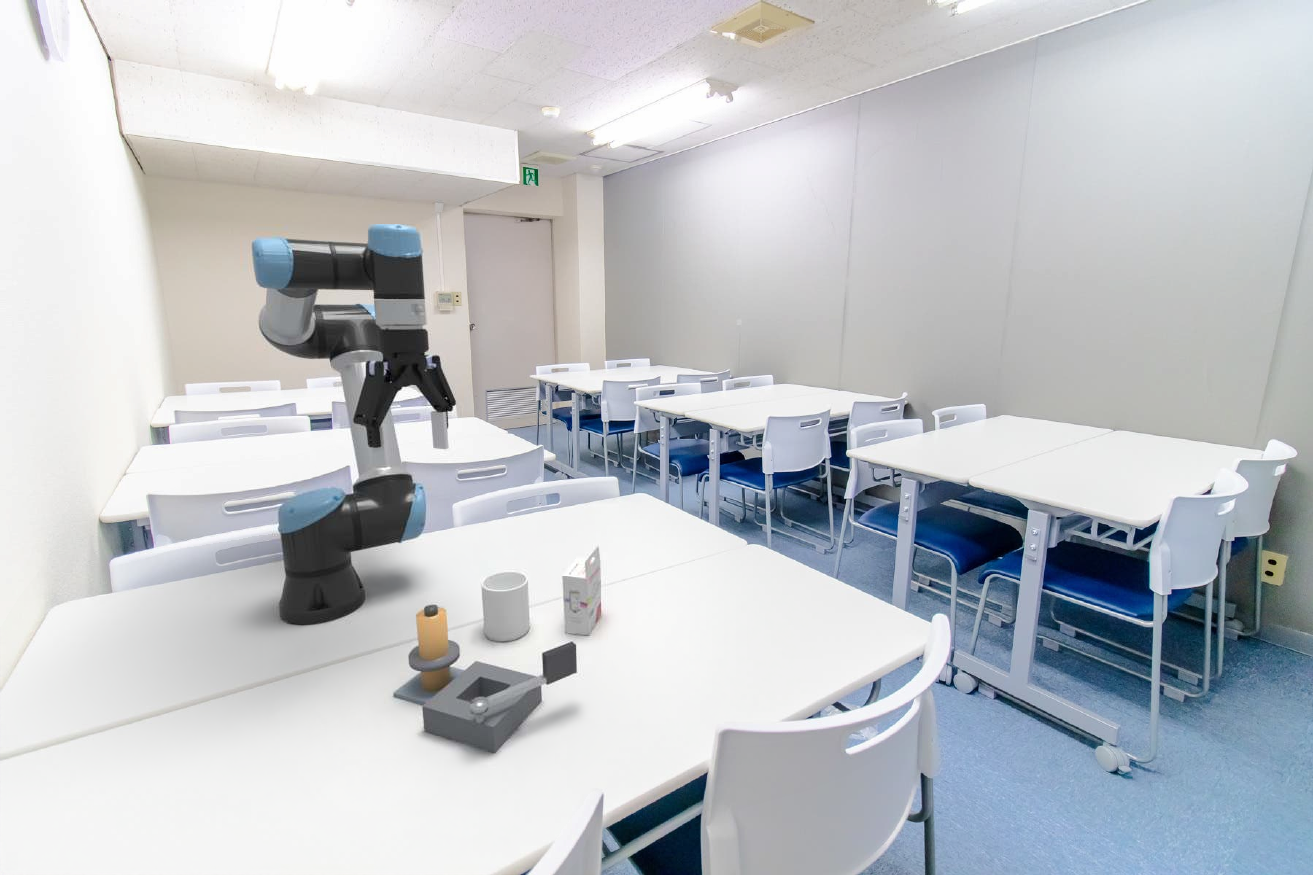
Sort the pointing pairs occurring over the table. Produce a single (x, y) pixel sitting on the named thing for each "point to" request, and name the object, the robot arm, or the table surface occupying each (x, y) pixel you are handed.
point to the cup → (505, 606)
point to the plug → (433, 649)
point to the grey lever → (554, 668)
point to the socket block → (486, 730)
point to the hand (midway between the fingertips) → (413, 457)
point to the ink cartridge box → (582, 594)
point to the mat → (420, 688)
